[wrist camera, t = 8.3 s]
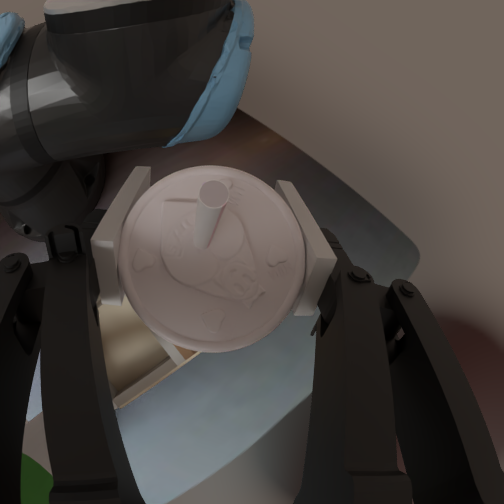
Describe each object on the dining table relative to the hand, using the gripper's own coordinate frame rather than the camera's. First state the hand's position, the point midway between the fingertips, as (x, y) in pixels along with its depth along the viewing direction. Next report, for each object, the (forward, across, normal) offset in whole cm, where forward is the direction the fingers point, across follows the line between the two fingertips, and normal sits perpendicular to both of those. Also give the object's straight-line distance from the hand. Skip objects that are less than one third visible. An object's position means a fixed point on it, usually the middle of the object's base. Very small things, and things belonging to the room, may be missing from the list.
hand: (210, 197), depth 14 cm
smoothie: (+1, 0, -6) cm, 6 cm away
